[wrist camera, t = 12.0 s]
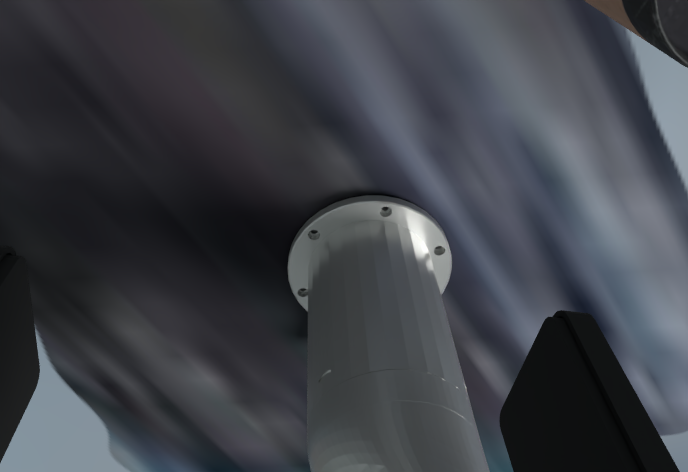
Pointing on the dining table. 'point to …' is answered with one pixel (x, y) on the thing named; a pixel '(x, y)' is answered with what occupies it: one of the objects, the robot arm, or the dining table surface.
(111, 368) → the dining table surface
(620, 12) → the travel mug
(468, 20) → the dining table surface
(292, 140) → the dining table surface
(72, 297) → the dining table surface
